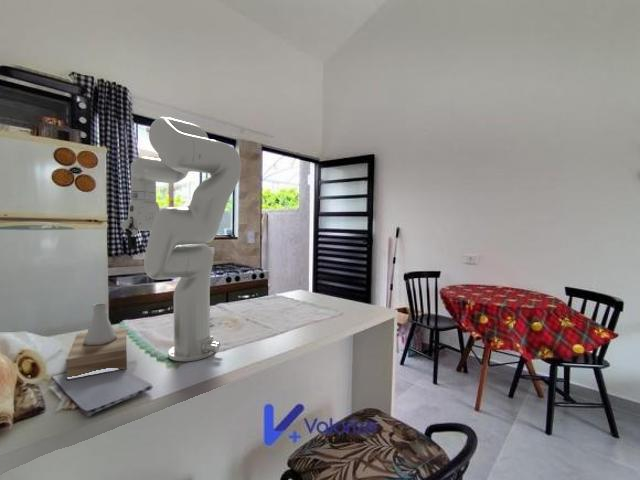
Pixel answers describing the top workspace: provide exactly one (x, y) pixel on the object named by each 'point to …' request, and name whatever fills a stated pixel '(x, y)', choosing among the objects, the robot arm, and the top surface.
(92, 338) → the flask
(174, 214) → the robot arm
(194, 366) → the top surface
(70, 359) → the walnut riser
